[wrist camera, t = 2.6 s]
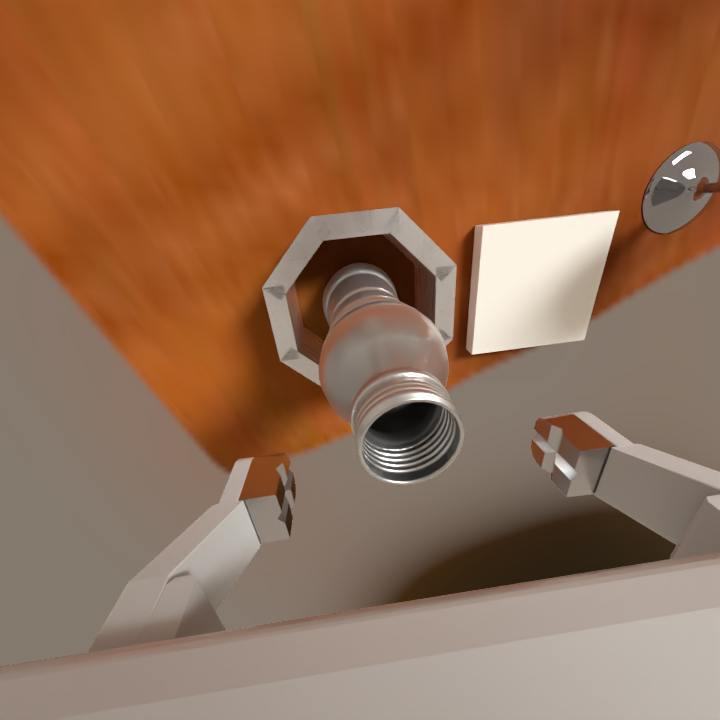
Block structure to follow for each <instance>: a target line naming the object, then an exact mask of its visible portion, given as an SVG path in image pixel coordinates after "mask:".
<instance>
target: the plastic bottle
mask: <svg viewBox="0 0 720 720" xmlns="http://www.w3.org/2000/svg"><path fill="white" fill-rule="evenodd" d="M323 311H324V315H325V317H326V320H327V322H328V325H329V326H330V328H329V332H328V334H327V336H326V339H325V341H324V344H323V346H322V351H321V356H320V361H319V380H320V384H321V388H322V390H323V392H324V394H325V396H326V398H327V400H328V402H329V404H330V406H331V407H332V409H333V410H334V411H335V412H336V414H337V415H338V416H339V417H341V418H342V419H343V420H344V421H345V422H347V423H349V424H351V429H352V434H353V436H354V438H355V442H356V449H357V454H358V457H359V460H360V462H361V464H362V466H363V468H364V469H365V470H366V471H367V473H368V474H370V475H371V476H373V477H374V478H375V479H377V480H379V481H381V482H384V483H388V484H391V485H412V484H417V483H421V482H424V481H427V480H430V479H431V478H433V477H435V476H437V475H439V474H440V473H442V472H443V471H444V470H446V469H447V468H448V467H449V466H450V465H451V464H452V463H453V462H454V460H455V459H456V458H457V456H458V455H459V453H460V451H461V449H462V446H463V442H464V435H465V430H464V426H463V422H462V420H461V417H460V415H459V413H458V411H457V410H456V408H455V407H454V405H453V404H452V402H451V398H450V396H449V394H448V392H447V390H446V389H445V386H446V383H447V378H448V373H449V371H448V357H447V352H446V347H445V343H444V340H443V338H442V336H441V334H440V332H439V330H438V328H437V327H436V326H435V325H434V324H433V322H432V321H431V320H430V319H428V318H427V317H426V316H424V315H423V314H422V313H421V312H419V311H418V310H417V309H415V308H413V307H411V306H409V305H407V304H405V303H403V302H401V301H399V300H398V296H397V293H396V289H395V286H394V284H393V282H392V280H391V278H390V277H389V276H388V275H387V273H386V272H384V271H383V270H382V269H381V268H379V267H377V266H375V265H372V264H368V263H354V264H350V265H347V266H345V267H343V268H341V269H340V270H338V271H337V272H336V273H335V274H334V275H333V276H332V277H331V278H330V280H329V282H328V283H327V285H326V288H325V290H324V294H323Z"/></svg>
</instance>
